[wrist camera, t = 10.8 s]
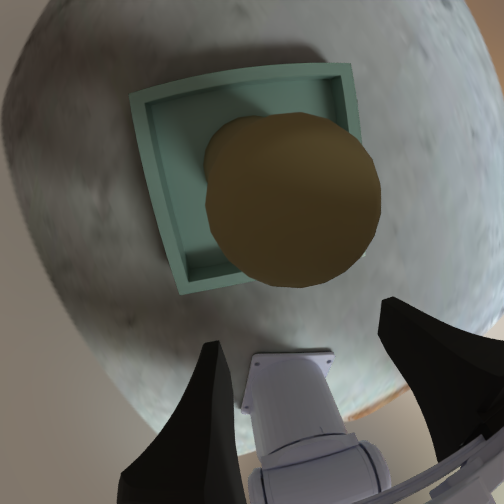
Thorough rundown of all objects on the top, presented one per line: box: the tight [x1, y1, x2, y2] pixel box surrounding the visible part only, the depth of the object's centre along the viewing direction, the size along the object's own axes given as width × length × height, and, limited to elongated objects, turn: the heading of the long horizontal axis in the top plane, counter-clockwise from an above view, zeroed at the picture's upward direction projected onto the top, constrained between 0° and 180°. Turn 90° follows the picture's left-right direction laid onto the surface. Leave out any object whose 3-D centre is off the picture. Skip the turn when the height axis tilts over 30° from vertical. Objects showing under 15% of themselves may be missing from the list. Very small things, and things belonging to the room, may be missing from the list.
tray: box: [128, 63, 366, 295], centre depth 16 cm, size 13×13×2 cm
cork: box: [203, 112, 381, 288], centre depth 12 cm, size 6×6×11 cm
